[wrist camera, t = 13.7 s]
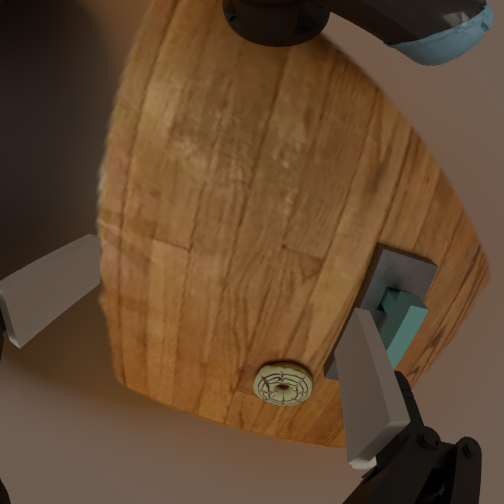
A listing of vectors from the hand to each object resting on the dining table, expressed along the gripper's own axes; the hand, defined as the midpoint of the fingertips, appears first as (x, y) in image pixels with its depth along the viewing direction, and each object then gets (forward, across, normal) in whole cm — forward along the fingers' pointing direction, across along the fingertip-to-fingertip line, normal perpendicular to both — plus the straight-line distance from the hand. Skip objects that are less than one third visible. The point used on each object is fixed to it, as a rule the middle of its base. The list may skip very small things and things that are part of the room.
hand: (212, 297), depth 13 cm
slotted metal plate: (+27, +22, -13) cm, 37 cm away
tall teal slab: (+27, +22, -13) cm, 37 cm away
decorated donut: (+27, +11, -30) cm, 42 cm away
